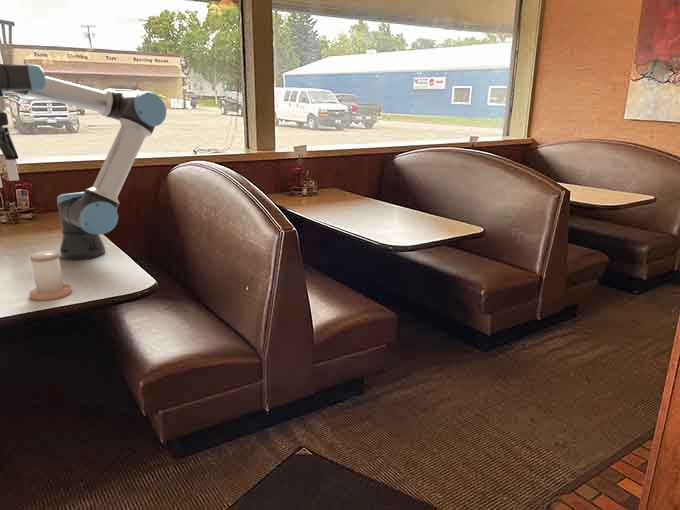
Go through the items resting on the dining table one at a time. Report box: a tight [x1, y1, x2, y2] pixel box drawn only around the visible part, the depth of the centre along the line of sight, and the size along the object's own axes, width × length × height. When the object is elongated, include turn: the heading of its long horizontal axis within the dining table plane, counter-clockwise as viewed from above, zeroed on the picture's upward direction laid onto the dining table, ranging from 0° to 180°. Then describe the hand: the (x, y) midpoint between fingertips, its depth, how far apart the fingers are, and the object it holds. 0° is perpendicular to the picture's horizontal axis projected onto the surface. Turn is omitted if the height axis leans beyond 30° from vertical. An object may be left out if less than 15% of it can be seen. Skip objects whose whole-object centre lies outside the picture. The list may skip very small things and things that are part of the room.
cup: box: [30, 250, 64, 294], centre depth 152 cm, size 7×7×11 cm
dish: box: [28, 283, 73, 302], centre depth 153 cm, size 11×11×1 cm
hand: (6, 184), depth 159 cm, fingers open, 13 cm apart
